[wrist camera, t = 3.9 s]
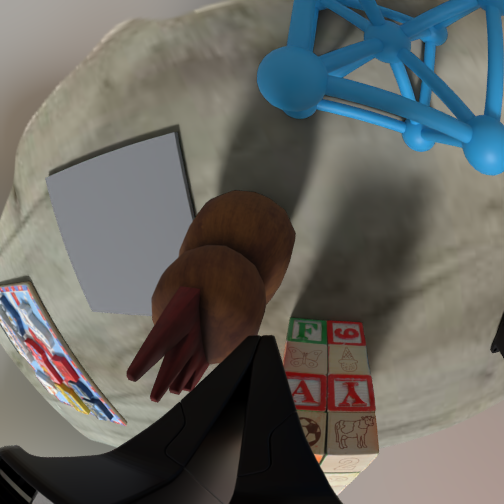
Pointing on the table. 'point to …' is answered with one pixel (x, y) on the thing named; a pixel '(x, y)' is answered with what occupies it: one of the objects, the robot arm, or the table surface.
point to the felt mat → (123, 221)
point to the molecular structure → (397, 54)
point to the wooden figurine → (215, 289)
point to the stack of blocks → (333, 395)
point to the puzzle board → (49, 352)
